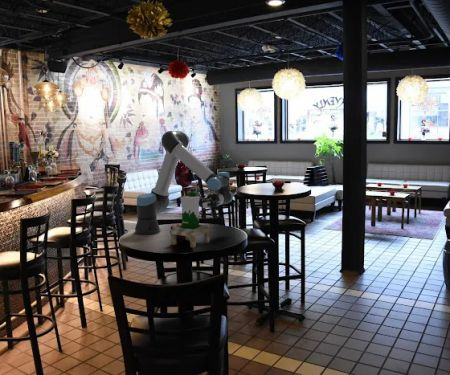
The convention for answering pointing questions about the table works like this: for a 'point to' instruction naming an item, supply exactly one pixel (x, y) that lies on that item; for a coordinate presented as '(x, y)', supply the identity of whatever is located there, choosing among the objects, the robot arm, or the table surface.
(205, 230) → the stool
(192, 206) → the milk carton
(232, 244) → the table surface
